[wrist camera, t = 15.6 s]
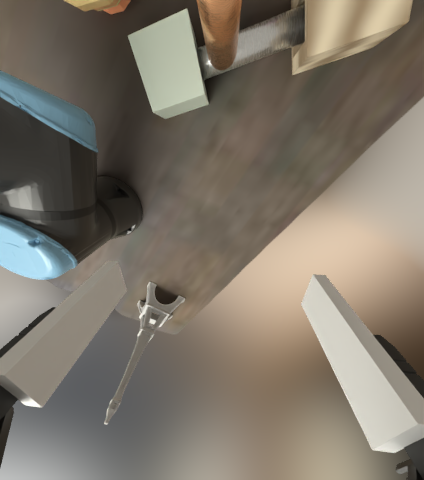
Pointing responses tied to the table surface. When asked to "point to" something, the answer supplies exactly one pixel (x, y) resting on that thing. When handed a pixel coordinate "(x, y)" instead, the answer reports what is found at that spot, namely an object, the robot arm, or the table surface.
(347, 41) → the block
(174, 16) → the socket block
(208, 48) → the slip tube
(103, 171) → the table surface
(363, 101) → the table surface
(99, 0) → the potted cactus
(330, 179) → the table surface
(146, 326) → the eiffel tower
